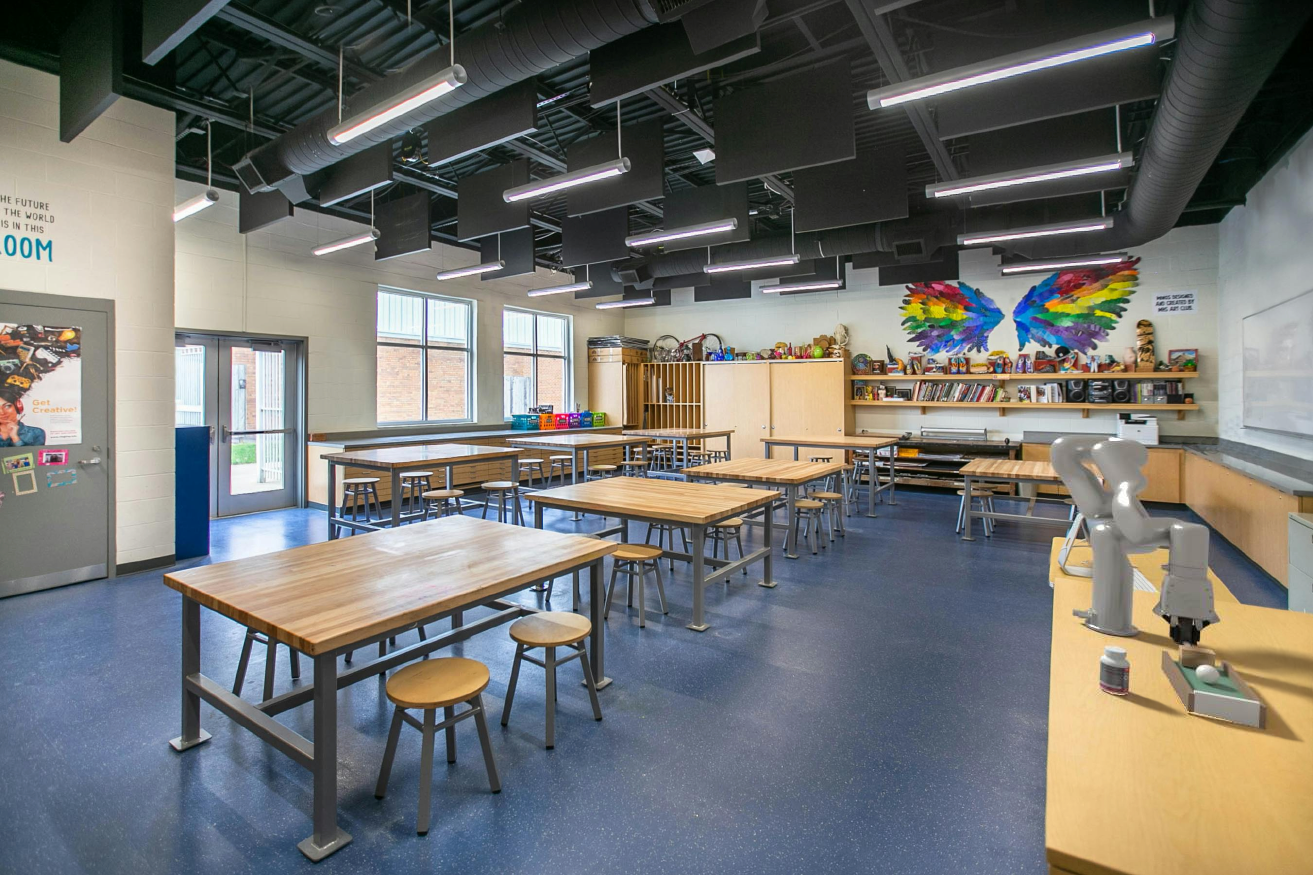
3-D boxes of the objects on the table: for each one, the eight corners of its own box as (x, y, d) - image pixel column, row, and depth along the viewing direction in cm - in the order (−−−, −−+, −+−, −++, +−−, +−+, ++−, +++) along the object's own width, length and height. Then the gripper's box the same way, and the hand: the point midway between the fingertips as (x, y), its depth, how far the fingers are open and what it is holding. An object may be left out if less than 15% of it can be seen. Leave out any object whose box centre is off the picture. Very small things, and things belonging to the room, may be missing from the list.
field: (1187, 713, 128) (1188, 690, 127) (1161, 668, 150) (1162, 648, 150) (1265, 728, 122) (1266, 704, 121) (1225, 679, 144) (1226, 658, 144)
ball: (1198, 684, 136) (1198, 666, 136) (1193, 677, 139) (1194, 660, 139) (1221, 688, 134) (1222, 670, 134) (1216, 681, 137) (1217, 664, 137)
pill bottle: (1130, 698, 134) (1132, 655, 134) (1100, 692, 137) (1102, 650, 137) (1126, 688, 139) (1127, 647, 139) (1097, 683, 142) (1099, 642, 141)
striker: (1181, 665, 145) (1183, 632, 145) (1167, 644, 158) (1168, 613, 158) (1214, 670, 142) (1216, 636, 142) (1197, 648, 155) (1199, 617, 154)
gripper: (1149, 570, 155) (1146, 640, 156) (1235, 580, 147) (1231, 654, 148) (1144, 564, 161) (1141, 631, 162) (1225, 572, 153) (1222, 643, 154)
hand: (1184, 641), depth 155 cm, fingers closed on striker, 3 cm apart
